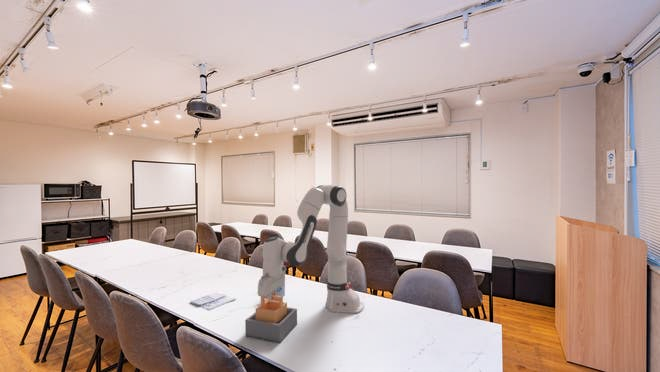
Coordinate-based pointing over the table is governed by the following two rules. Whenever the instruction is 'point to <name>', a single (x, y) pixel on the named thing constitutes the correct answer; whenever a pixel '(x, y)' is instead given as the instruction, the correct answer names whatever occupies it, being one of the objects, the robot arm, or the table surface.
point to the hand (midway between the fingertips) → (271, 298)
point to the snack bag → (208, 300)
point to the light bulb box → (280, 291)
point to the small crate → (271, 309)
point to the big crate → (271, 327)
